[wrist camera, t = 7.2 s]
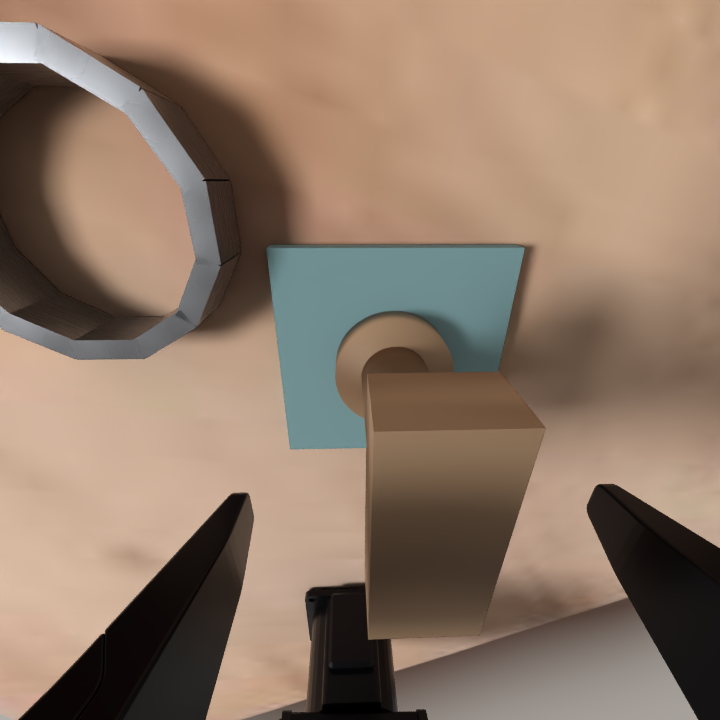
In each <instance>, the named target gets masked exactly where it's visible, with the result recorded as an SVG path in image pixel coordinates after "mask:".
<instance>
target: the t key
mask: <svg viewBox="0 0 720 720" xmlns="http://www.w3.org/2000/svg"><path fill="white" fill-rule="evenodd" d="M453 371H454V367H453V360H452V356H451V353H450V351H449V349H448V347H447V345H446V344H445V342H444V340H443V339H442V337H441V335H440V334H439V332H438V331H437V330H436V328H435V327H434V326H433V325H432V324H430V323H429V322H428V321H427V320H425V319H424V318H422V317H420V316H418V315H415V314H412V313H409V312H404V311H385V312H380V313H376V314H373V315H370V316H368V317H366V318H364V319H363V320H361V321H359V322H358V323H357V324H355V325H354V326H353V327H352V328H351V329H350V330H349V331H348V332H347V333H346V335H345V336H344V338H343V339H342V341H341V343H340V345H339V348H338V351H337V356H336V370H335V381H336V386H337V390H338V393H339V395H340V397H341V399H342V400H343V402H344V403H345V404H346V405H347V407H348V408H349V409H350V410H352V411H353V412H354V413H356V414H357V415H358V416H360V417H362V418H364V420H365V433H366V506H365V583H366V604H367V626H368V640H372V639H397V638H422V637H447V636H472V635H480V633H481V629H482V626H483V623H484V620H485V617H486V614H487V611H488V608H489V604H490V601H491V598H492V595H493V592H494V589H495V586H496V583H497V579H498V576H499V573H500V570H501V567H502V564H503V561H504V558H505V554H506V551H507V548H508V545H509V542H510V539H511V536H512V533H513V529H514V526H515V523H516V520H517V517H518V514H519V511H520V508H521V504H522V501H523V498H524V495H525V492H526V489H527V486H528V483H529V479H530V476H531V473H532V470H533V467H534V464H535V461H536V458H537V454H538V451H539V448H540V445H541V442H542V439H543V436H544V433H545V429H546V428H545V427H544V425H543V424H542V423H541V422H540V420H539V419H538V418H537V417H536V415H535V414H534V413H533V412H532V411H531V409H530V408H529V407H528V406H527V404H526V403H525V402H524V401H523V399H522V398H521V397H520V396H519V394H518V393H517V392H516V391H515V389H514V388H513V387H512V386H511V385H510V383H509V382H508V381H507V380H506V378H505V377H504V376H503V375H502V373H501V372H453Z"/></svg>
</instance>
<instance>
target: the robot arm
mask: <svg viewBox="0 0 720 720" xmlns="http://www.w3.org/2000/svg"><path fill="white" fill-rule="evenodd" d="M587 513H588V516H589V518H590V520H591V523H592V525H593V527H594V529H595V531H596V533H597V536H598V538H599V540H600V542H601V544H602V546H603V549H604V551H605V553H606V555H607V557H608V559H609V562H610V564H611V566H612V568H613V570H614V572H615V574H616V576H617V578H618V580H619V581H620V583H621V585H622V587H623V589H624V590H625V592H626V594H627V596H628V597H629V599H630V601H631V602H632V604H633V606H634V608H635V610H636V611H637V613H638V615H639V616H640V618H641V620H642V622H643V624H644V625H645V627H646V629H647V631H648V632H649V634H650V636H651V638H652V639H653V641H654V643H655V644H656V646H657V648H658V650H659V652H660V653H661V655H662V657H663V659H664V660H665V662H666V664H667V666H668V667H669V669H670V671H671V673H672V674H673V676H674V678H675V680H676V681H677V683H678V685H679V687H680V688H681V690H682V692H683V694H684V695H685V697H686V699H687V701H688V702H689V704H690V706H691V708H692V709H693V711H694V713H695V715H696V716H697V718H698V720H720V548H718V547H717V546H715V545H714V544H712V543H710V542H709V541H707V540H705V539H704V538H702V537H700V536H699V535H697V534H696V533H694V532H692V531H691V530H689V529H687V528H686V527H684V526H683V525H681V524H679V523H678V522H676V521H674V520H673V519H671V518H669V517H668V516H666V515H665V514H663V513H661V512H660V511H658V510H656V509H655V508H653V507H652V506H650V505H648V504H647V503H645V502H643V501H642V500H640V499H638V498H637V497H635V496H634V495H632V494H630V493H629V492H627V491H625V490H624V489H622V488H621V487H619V486H617V485H614V484H599V485H597V486H596V487H595V488H594V491H593V493H592V495H591V497H590V500H589V502H588V504H587ZM253 521H254V514H253V509H252V504H251V500H250V496H249V494H248V493H232V494H231V495H230V496H229V497H228V498H227V499H226V500H225V501H224V502H223V503H222V504H221V505H220V506H219V507H218V508H217V510H216V511H215V512H214V513H213V514H212V515H211V516H210V517H209V518H208V519H207V520H206V521H205V523H204V524H203V525H202V526H201V527H200V528H199V529H198V530H197V531H196V532H195V533H194V534H193V536H192V537H191V538H190V539H189V540H188V541H187V542H186V543H185V544H184V545H183V546H182V547H181V549H180V550H179V551H178V552H177V553H176V554H175V555H174V556H173V557H172V558H171V559H170V560H169V562H168V563H167V564H166V565H165V566H164V567H163V568H162V569H161V570H160V571H159V572H158V573H157V575H156V576H155V577H154V578H153V579H152V580H151V581H150V582H149V583H148V584H147V585H146V586H145V588H144V589H143V590H142V591H141V592H140V593H139V594H138V595H137V596H136V597H135V598H134V599H133V601H132V602H131V603H130V604H129V605H128V606H127V607H126V608H125V609H124V610H123V611H122V612H121V614H120V615H119V616H118V617H117V618H116V619H115V620H114V621H113V622H112V623H111V624H110V625H109V627H108V628H107V629H106V630H105V634H101V635H100V636H99V637H98V638H97V639H96V640H95V641H94V643H93V644H92V645H91V646H90V647H89V648H88V649H87V650H86V651H85V652H84V653H83V654H82V655H81V657H80V658H79V659H78V660H77V661H76V662H75V663H74V664H73V665H72V666H71V667H70V668H69V669H68V670H67V671H66V672H65V673H64V674H63V675H62V676H61V677H60V679H59V680H58V681H57V682H56V683H55V684H54V685H53V686H52V687H51V688H50V689H49V690H48V691H47V692H46V693H45V694H44V695H43V696H42V697H41V698H40V699H39V700H38V701H37V702H36V703H35V704H34V705H33V706H32V707H31V708H30V709H29V710H28V711H27V712H25V713H24V714H23V715H22V716H21V717H20V718H19V719H18V720H206V716H207V712H208V709H209V705H210V702H211V698H212V695H213V691H214V687H215V684H216V680H217V677H218V673H219V669H220V666H221V662H222V659H223V655H224V652H225V648H226V644H227V641H228V637H229V634H230V630H231V627H232V623H233V619H234V616H235V612H236V609H237V605H238V602H239V598H240V594H241V590H242V585H243V580H244V575H245V569H246V563H247V557H248V551H249V546H250V540H251V534H252V528H253ZM305 603H306V611H307V619H308V627H309V635H310V640H311V653H310V666H309V679H308V692H307V705H306V712H300V713H299V712H298V713H297V712H294V713H293V712H292V711H291V710H283V712H282V719H280V720H428V718H427V713H426V710H424V709H423V710H421V709H418V710H416V712H398V710H397V700H396V690H395V689H396V688H395V679H394V667H393V657H392V646H391V639H372V640H368V626H367V604H366V588H362V589H331V590H310V591H307V592H306V597H305Z"/></svg>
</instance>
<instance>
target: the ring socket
mask: <svg viewBox="0 0 720 720" xmlns="http://www.w3.org/2000/svg"><path fill="white" fill-rule="evenodd" d="M34 86H81V87H82V88H84V89H86V90H87V91H89V92H91V93H92V94H94V95H96V96H97V97H99V98H101V99H102V100H104V101H106V102H107V103H109V104H111V105H112V106H114V107H116V108H118V109H119V110H121V111H123V112H124V113H126V114H127V116H128V117H129V118H130V120H131V121H132V122H133V124H134V125H135V127H136V128H137V129H138V131H139V132H140V133H141V135H142V136H143V137H144V139H145V140H146V141H147V143H148V144H149V146H150V147H151V148H152V150H153V151H154V152H155V154H156V155H157V156H158V158H159V159H160V161H161V162H162V163H163V165H164V166H165V167H166V169H167V170H168V171H169V173H170V174H171V175H172V177H173V178H174V180H175V181H176V182H177V184H178V185H179V186H180V188H181V192H182V197H183V202H184V206H185V211H186V216H187V220H188V225H189V230H190V234H191V239H192V244H193V248H194V253H195V258H196V260H195V263H194V266H193V269H192V271H191V274H190V277H189V280H188V282H187V285H186V288H185V291H184V294H183V296H182V299H181V302H180V305H179V308H177V309H176V310H174V311H173V312H171V313H170V314H168V315H166V316H156V317H114V316H112V315H110V314H107V313H105V312H103V311H101V310H98V309H96V308H94V307H92V306H89V305H87V304H85V303H83V302H80V301H78V300H76V299H74V298H71V297H69V296H67V295H65V294H62V293H61V292H60V291H59V290H58V289H57V288H56V287H55V286H54V285H53V284H51V283H50V282H49V281H48V280H47V279H46V278H45V277H44V276H43V275H42V274H41V273H40V272H39V271H38V270H37V269H36V268H35V267H34V266H33V265H32V264H31V263H30V262H29V261H28V260H27V259H26V258H25V257H24V256H23V255H22V254H21V253H20V252H19V251H18V250H17V249H16V248H15V247H14V245H13V243H12V241H11V239H10V236H9V234H8V232H7V230H6V227H5V225H4V223H3V221H2V218H1V216H0V327H1V330H4V331H6V332H9V333H11V334H14V335H16V336H19V337H21V338H24V339H26V340H29V341H31V342H34V343H36V344H39V345H41V346H44V347H46V348H49V349H51V350H54V351H56V352H59V353H61V354H64V355H66V356H69V357H71V358H74V359H77V360H94V359H145V358H148V357H149V356H151V355H152V354H154V353H156V352H157V351H159V350H161V349H162V348H164V347H165V346H167V345H169V344H170V343H172V342H174V341H175V340H177V339H178V338H180V337H182V336H183V335H185V334H187V333H188V332H190V331H191V330H193V329H195V328H196V327H197V326H198V325H199V324H200V323H201V322H202V321H204V320H205V319H206V318H207V317H208V316H209V315H210V314H211V313H212V312H213V311H214V310H215V309H216V308H217V307H218V306H219V305H220V303H221V300H222V298H223V295H224V293H225V291H226V288H227V286H228V283H229V281H230V278H231V276H232V274H233V271H234V269H235V266H236V264H237V261H238V259H239V257H240V254H241V253H240V252H241V247H240V240H239V234H238V227H237V220H236V214H235V207H234V201H233V194H232V187H231V181H228V180H229V177H228V176H227V174H226V173H225V171H224V170H223V168H222V167H221V165H220V164H219V162H218V161H217V159H216V158H215V156H214V155H213V153H212V152H211V150H210V149H209V147H208V146H207V144H206V143H205V141H204V140H203V138H202V137H201V135H200V134H199V132H198V131H197V129H196V128H195V126H194V125H193V123H192V122H191V120H190V119H189V117H188V116H187V114H186V113H185V111H184V110H183V108H182V107H181V106H179V104H177V103H176V102H174V101H173V100H171V99H169V98H168V97H166V96H165V95H163V94H161V93H160V92H158V91H157V90H155V89H153V88H152V87H150V86H149V85H147V84H145V83H144V82H142V81H141V80H139V79H137V78H136V77H134V76H133V75H131V74H129V73H128V72H126V71H125V70H123V69H121V68H120V67H118V66H117V65H115V64H113V63H112V62H110V61H109V60H107V59H105V58H104V57H102V56H100V55H99V54H97V53H95V52H93V51H91V50H89V49H87V48H85V47H83V46H81V45H79V44H77V43H75V42H73V41H71V40H69V39H67V38H65V37H63V36H61V35H59V34H57V33H55V32H53V31H52V30H50V29H48V28H46V27H44V26H42V25H40V24H37V23H24V22H0V117H1V116H2V115H3V114H4V113H5V112H6V111H8V110H9V109H10V108H11V107H12V106H13V105H14V104H15V103H16V102H17V101H18V100H20V99H21V98H22V97H23V96H24V95H25V94H26V93H27V92H28V91H29V90H30V89H32V88H33V87H34Z"/></svg>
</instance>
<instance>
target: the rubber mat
mask: <svg viewBox="0 0 720 720" xmlns="http://www.w3.org/2000/svg"><path fill="white" fill-rule="evenodd" d="M266 250H267V259H268V267H269V276H270V284H271V292H272V301H273V309H274V318H275V326H276V334H277V343H278V351H279V360H280V368H281V377H282V385H283V393H284V402H285V410H286V419H287V427H288V435H289V444H290V449H333V448H366V433H365V420H364V418H362V417H360V416H358V415H357V414H356V413H354V412H353V411H352V410H350V409H349V408H348V407H347V405H346V404H345V403H344V402H343V400H342V399H341V397H340V395H339V393H338V390H337V386H336V381H335V370H336V356H337V351H338V348H339V345H340V343H341V341H342V339H343V338H344V336H345V335H346V333H347V332H348V331H349V330H350V329H351V328H352V327H353V326H354V325H355V324H357V323H358V322H359V321H361V320H363V319H364V318H366V317H368V316H370V315H373V314H376V313H380V312H385V311H404V312H409V313H412V314H415V315H418V316H420V317H422V318H424V319H425V320H427V321H428V322H429V323H430V324H432V325H433V326H434V327H435V328H436V330H437V331H438V332H439V334H440V335H441V337H442V339H443V340H444V342H445V344H446V345H447V347H448V349H449V351H450V353H451V356H452V360H453V367H454V371H453V372H498V369H499V364H500V360H501V355H502V351H503V346H504V341H505V337H506V332H507V328H508V323H509V318H510V314H511V309H512V305H513V300H514V296H515V291H516V286H517V282H518V277H519V273H520V268H521V264H522V259H523V254H524V250H525V247H522V246H519V245H516V244H404V245H269V246H268V247H267V248H266Z"/></svg>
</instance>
